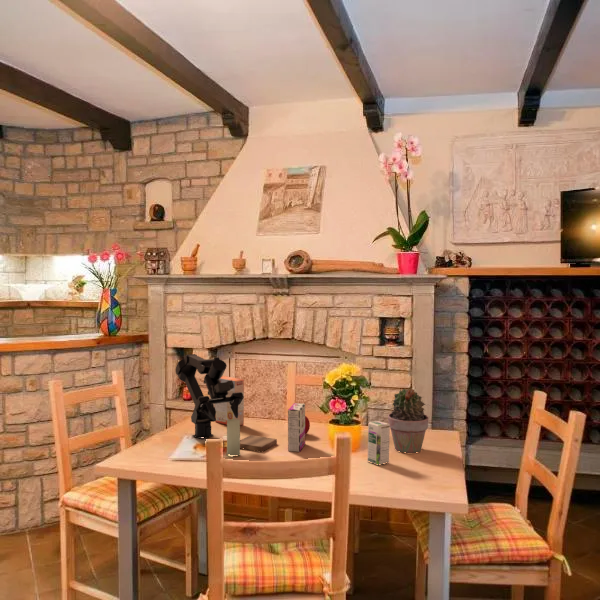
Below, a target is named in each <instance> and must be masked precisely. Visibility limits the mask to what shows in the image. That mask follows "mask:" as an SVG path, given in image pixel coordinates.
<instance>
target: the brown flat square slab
mask: <svg viewBox="0 0 600 600" xmlns="http://www.w3.org/2000/svg"><path fill="white" fill-rule="evenodd" d="M277 442H278V440H277V438H272V437H266V436H259V435H253V434H251V435H250V434H249V436H246V437H244V438H242V439H240V448H244V449H243V450H245V449H250V450H249V451H251V450H255V451H254V452H257V451H260V452H259V453H263V452H264V450H265V451H266V449H267V450H268V449H270V448H272V447H274V446H276V445H278V443H277ZM275 444H276V445H275ZM262 451H263V452H262Z"/></svg>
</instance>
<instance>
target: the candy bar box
mask: <svg viewBox="0 0 600 600" xmlns="http://www.w3.org/2000/svg"><path fill="white" fill-rule="evenodd" d="M305 416H306V403H301V402H300V403H299V402H298V403H297V402H294V403H292V405H291V406H290V407H289V408H288V409H287V441H288V442H287V449H288V452H293V453H300V452H301V450H303V448H304V447H305V445H306V435H305Z"/></svg>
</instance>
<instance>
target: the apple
mask: <svg viewBox="0 0 600 600" xmlns="http://www.w3.org/2000/svg"><path fill="white" fill-rule="evenodd" d="M310 428H311V424H310V420H309V418H308V417H307V416H306V415H305V436H306V435H307V434H308V433H309V431H310Z"/></svg>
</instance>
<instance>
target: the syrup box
mask: <svg viewBox="0 0 600 600" xmlns="http://www.w3.org/2000/svg"><path fill="white" fill-rule="evenodd" d="M367 427H368V429H367V462H368V461H370V462H372V463H375V464H378V465H379V464H383V463H386V462H389V463H390V433H391V429H390V424H388V423H387V422H384V421H381V420H380V421H379V420H375V421H370V422H368V425H367ZM372 463H371V464H372Z"/></svg>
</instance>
